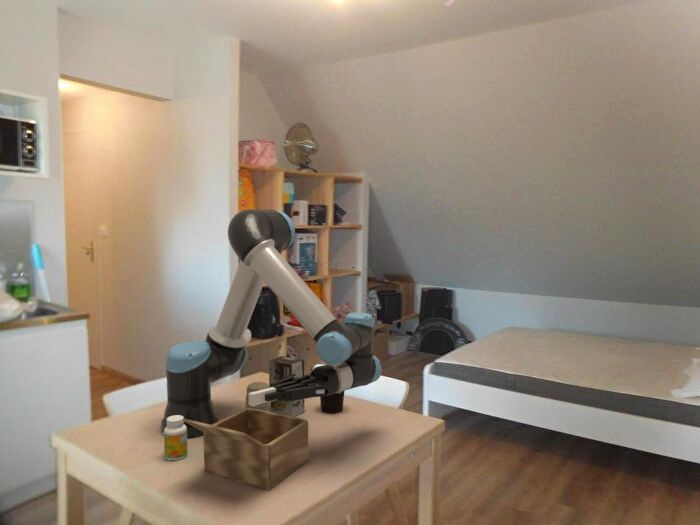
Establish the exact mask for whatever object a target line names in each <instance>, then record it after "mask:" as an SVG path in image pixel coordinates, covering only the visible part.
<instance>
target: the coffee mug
mask: <svg viewBox="0 0 700 525" xmlns="http://www.w3.org/2000/svg"><path fill="white" fill-rule="evenodd" d="M345 392H346V390H345V391H341V393H334V394H332V395H328V396H325V397H319V400H320V408H321V412H322V413H324V414H327V415H328V414H329V415H334V414H336V413H337V414H339V412H340V413H342V412H343V407H344V399H345ZM341 411H342V412H341Z"/></svg>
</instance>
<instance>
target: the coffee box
mask: <svg viewBox="0 0 700 525" xmlns="http://www.w3.org/2000/svg"><path fill="white" fill-rule="evenodd" d="M292 374H295V375H296V378H299V377H302V376H303V375H305V360H304V359H301V358H296V357H290V356H289V357H288V356H283V355H281V356H277V357H275V358H273V359H270V360H268V382H269V383H268V385H269V384H270V383H273V382H276V381H279V380H281V379H284V378H287V377H289V376H290V375H292ZM270 412H273V413H277V414H282V415H287V416H292V417H296V416H298V415H300V414H302V413H303V414H304V412H305V399H300V400H294V401H289V402H285V401H284V400H278V399H276V400H274V401H271V410H270Z"/></svg>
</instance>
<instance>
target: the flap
mask: <svg viewBox="0 0 700 525" xmlns="http://www.w3.org/2000/svg"><path fill="white" fill-rule="evenodd" d="M182 421H184V422H186V423H188V424H190V425H191V426H193V427H195V428H197V429H199V430H201V431H203V432H206V433H210V434H214V435H218V436H222V437H226V438H230V439H234V440H238V441H242V442H246V443H250V444H254V445H258V446H262V447H264V445H265V444H263V443H261V442H260V441H258V440H256V439H255V438H253V437H251V436H250V435H248V434H246V433H243V432H239V431H235V430H230V429H226V428H222V427H218V426H214V425H209V424H205V423H201V422H197V421H193V420H188V419H184V418H183V420H182Z"/></svg>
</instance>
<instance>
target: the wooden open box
mask: <svg viewBox="0 0 700 525" xmlns="http://www.w3.org/2000/svg"><path fill="white" fill-rule="evenodd" d="M212 425H214V426H218V427H222V428H226V429H230V430H235V431H239V432H243V433H246V434H248V435H250V436H251V437H253V438H255V439H256V440H258V441H260V442H261V443H263V444H265V445H264V447H262V446H258V445H254V444H250V443H246V442H242V441H238V440H234V439H230V438H226V437H222V436H218V435H214V434H210V433H206V432H203V435H202V436H203V464H204V465H203V466H204V468H203V469H204V473H206V474H209V475H212V476H216V477H219V478H224V479H227V480H230V481H234V482H237V483H240V484H243V485H247V486H251V487H254V488H256V489H261V490H264V491H268V492H269V491H270V490H271V489H272V488H274V487H275V486H276V485H278V484H280V482H281V481H283V480H284V479H286V478H288V476H290V475H291V474H292V473H293V472H295V471H296V470H297V469H299V468H300V467H301V466H302V465H304V464H306V463H307V462H308V455H309V421H308V420H307V419H305V418H299V417H296V416H294V417H292V416H287V415H282V414H277V413H273V412H268V411H263V410H258V409H253V408H247V409H245V408H243V409H241V410H238V411H237V412H235V413H233V414H230V415H229V416H227V417H225V418H222V419H221V420H218V422H216V423H214V424H212Z"/></svg>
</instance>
